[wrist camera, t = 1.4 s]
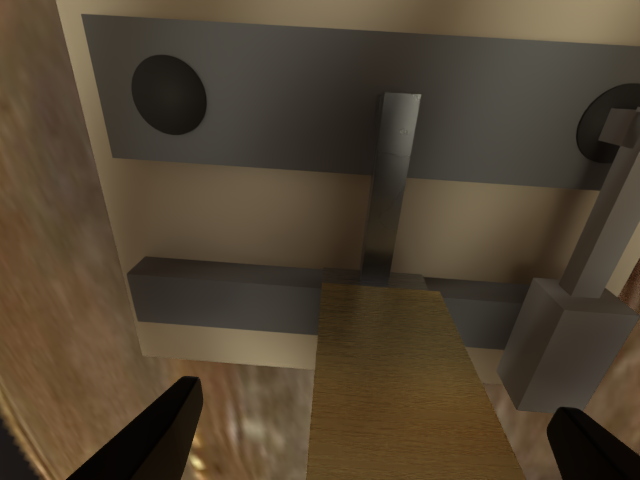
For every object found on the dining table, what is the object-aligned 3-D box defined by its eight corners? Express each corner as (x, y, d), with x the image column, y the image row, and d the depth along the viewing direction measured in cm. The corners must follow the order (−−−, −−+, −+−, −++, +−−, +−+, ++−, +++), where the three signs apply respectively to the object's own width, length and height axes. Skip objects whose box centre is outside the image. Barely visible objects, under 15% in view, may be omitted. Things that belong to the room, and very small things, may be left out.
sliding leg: (452, 93, 9) (944, 183, 2) (395, 362, 13) (462, 711, 6) (336, 87, 9) (323, 144, 2) (317, 356, 13) (291, 693, 6)
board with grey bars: (741, -16, 9) (1013, -76, 5) (550, 367, 15) (615, 458, 12) (73, -52, 9) (-93, -130, 6) (156, 336, 16) (101, 415, 12)
